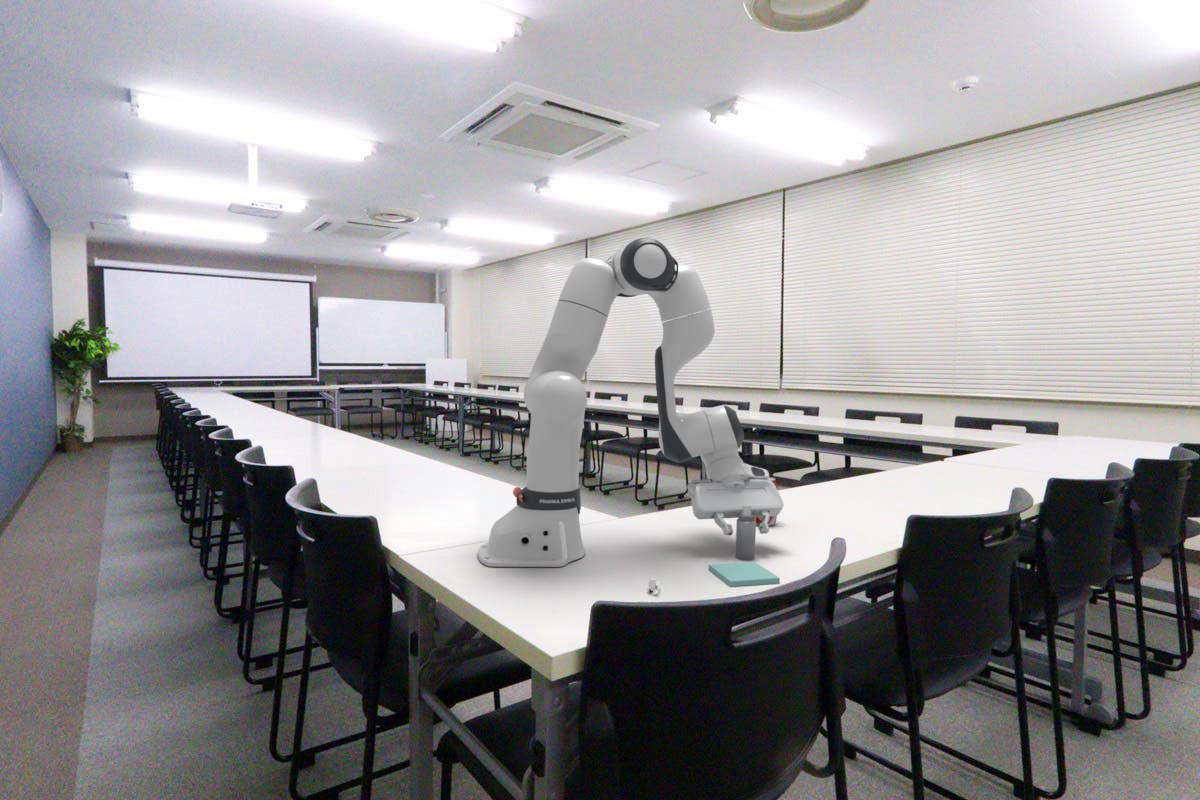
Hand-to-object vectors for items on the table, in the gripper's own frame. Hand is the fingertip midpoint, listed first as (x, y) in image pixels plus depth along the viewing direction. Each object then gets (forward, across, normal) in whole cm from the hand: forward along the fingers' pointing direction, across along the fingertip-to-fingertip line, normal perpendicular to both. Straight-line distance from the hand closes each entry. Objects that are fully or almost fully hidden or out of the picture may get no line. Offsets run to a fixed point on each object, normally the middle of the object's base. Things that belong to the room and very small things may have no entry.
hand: (747, 533), depth 133 cm
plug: (+3, 0, +4) cm, 5 cm away
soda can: (-15, +18, +23) cm, 33 cm away
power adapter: (+15, -24, -7) cm, 30 cm away
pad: (+11, -6, -4) cm, 13 cm away
